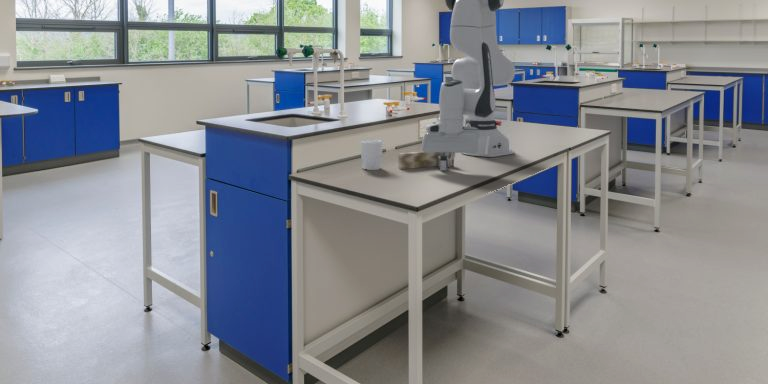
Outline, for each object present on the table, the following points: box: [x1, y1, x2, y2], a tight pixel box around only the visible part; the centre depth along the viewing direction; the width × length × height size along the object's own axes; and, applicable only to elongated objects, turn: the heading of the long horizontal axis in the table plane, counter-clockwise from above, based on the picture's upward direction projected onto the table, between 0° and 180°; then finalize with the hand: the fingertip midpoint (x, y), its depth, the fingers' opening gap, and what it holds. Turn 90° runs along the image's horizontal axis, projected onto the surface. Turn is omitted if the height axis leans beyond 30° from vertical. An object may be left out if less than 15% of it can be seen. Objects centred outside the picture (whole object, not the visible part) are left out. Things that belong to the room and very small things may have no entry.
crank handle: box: [437, 155, 447, 171], centre depth 225 cm, size 11×3×5 cm, turn 1°
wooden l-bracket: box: [397, 150, 455, 170], centre depth 228 cm, size 20×6×6 cm, turn 118°
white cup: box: [360, 139, 383, 171], centre depth 224 cm, size 8×8×10 cm
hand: (449, 164), depth 223 cm, fingers closed
